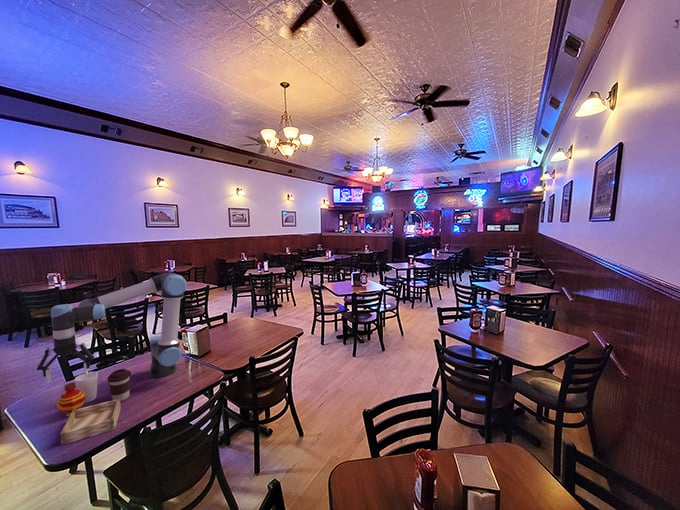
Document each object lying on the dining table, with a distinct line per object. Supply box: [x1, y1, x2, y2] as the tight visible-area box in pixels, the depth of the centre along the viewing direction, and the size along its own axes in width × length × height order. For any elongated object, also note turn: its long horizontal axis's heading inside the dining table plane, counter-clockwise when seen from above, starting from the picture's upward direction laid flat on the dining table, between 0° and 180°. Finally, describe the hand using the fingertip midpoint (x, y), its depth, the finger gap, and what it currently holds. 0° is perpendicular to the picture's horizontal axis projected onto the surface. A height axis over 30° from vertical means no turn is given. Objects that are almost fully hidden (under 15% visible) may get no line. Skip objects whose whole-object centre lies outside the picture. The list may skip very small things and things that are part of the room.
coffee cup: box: [106, 368, 132, 402], centre depth 152 cm, size 10×10×15 cm
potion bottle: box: [56, 381, 86, 418], centre depth 140 cm, size 10×10×15 cm
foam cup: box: [74, 371, 99, 404], centre depth 151 cm, size 10×9×13 cm
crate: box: [59, 398, 122, 446], centre depth 132 cm, size 18×18×5 cm
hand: (68, 378), depth 138 cm, fingers open, 13 cm apart
